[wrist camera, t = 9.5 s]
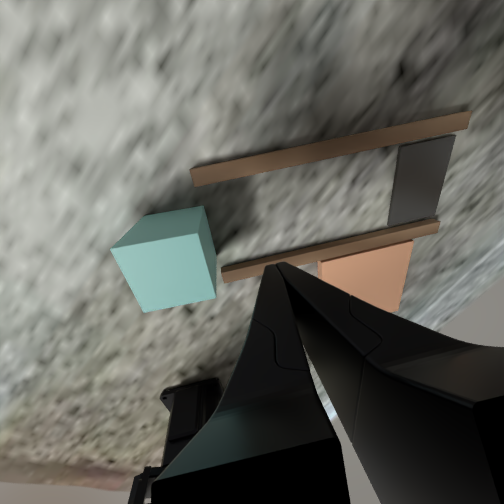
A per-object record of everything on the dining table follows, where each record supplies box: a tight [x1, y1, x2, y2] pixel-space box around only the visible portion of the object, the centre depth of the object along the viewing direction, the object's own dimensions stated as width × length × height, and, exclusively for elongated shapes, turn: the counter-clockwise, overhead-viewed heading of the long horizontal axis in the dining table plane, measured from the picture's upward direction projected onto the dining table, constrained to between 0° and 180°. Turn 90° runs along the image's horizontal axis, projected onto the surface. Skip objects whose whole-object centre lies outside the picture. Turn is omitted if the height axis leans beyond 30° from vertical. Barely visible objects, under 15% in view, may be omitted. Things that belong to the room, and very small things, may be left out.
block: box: [110, 205, 216, 313], centre depth 13 cm, size 4×4×5 cm
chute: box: [190, 111, 472, 283], centre depth 15 cm, size 8×18×1 cm, turn 100°
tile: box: [318, 239, 414, 312], centre depth 19 cm, size 8×8×1 cm
